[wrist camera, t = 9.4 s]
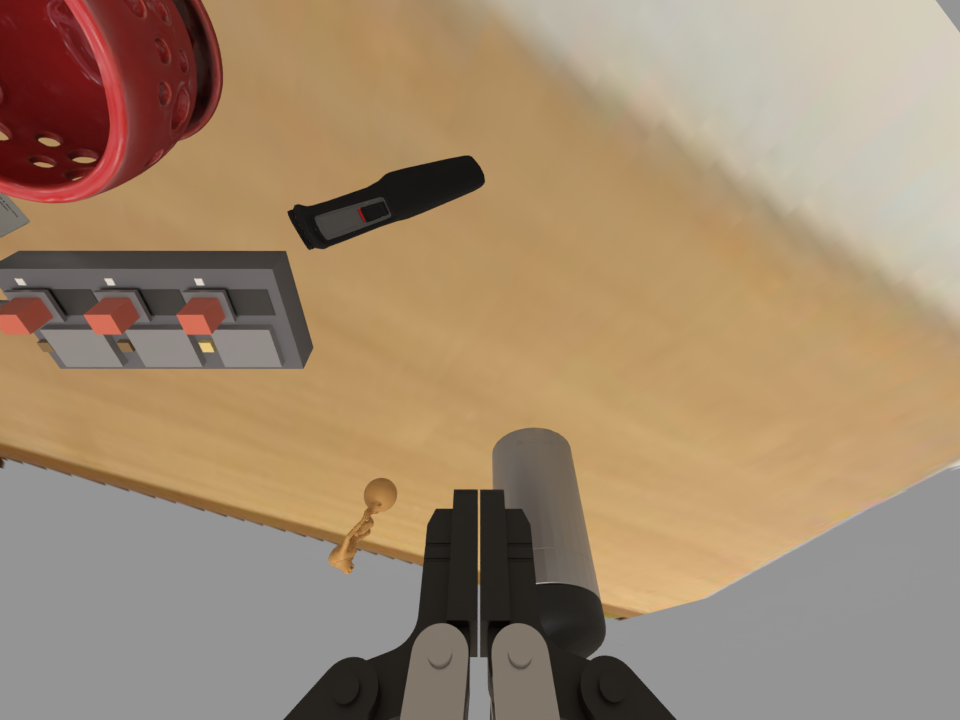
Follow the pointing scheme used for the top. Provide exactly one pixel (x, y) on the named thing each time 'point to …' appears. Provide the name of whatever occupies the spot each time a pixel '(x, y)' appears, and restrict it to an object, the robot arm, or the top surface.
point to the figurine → (364, 522)
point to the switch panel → (167, 308)
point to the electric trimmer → (386, 201)
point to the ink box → (10, 216)
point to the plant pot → (100, 90)
